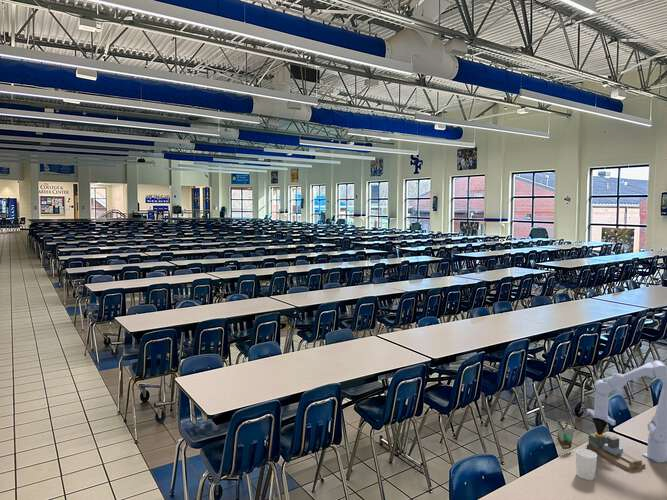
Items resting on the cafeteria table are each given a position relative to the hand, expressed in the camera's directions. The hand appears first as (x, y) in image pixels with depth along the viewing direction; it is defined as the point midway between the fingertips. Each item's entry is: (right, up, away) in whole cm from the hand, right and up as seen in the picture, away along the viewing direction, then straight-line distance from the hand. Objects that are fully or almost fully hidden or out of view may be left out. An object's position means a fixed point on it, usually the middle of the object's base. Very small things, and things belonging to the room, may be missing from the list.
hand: (599, 433), depth 226 cm
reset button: (0, -5, 0) cm, 5 cm away
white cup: (-20, -9, -24) cm, 32 cm away
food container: (-14, -7, +4) cm, 16 cm away
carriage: (+2, -6, -7) cm, 9 cm away
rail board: (+3, -8, -8) cm, 11 cm away
